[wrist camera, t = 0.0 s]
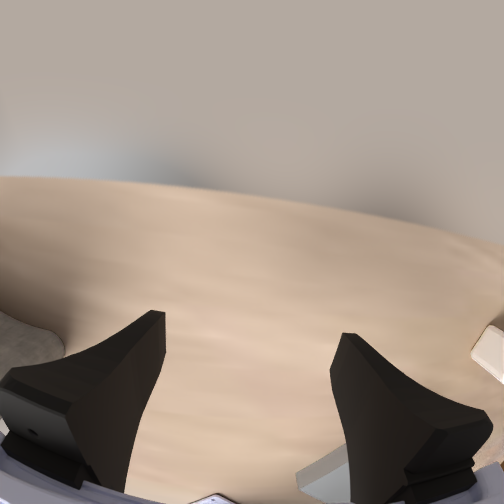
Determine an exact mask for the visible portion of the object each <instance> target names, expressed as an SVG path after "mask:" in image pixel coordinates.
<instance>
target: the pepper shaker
mask: <svg viewBox="0 0 504 504" xmlns="http://www.w3.org/2000/svg"><path fill="white" fill-rule="evenodd" d="M470 354H471V357H472V359H473V360H475V361H476V362H477V363H478V364H479V365H481V366H482V367H483V368H484V369H485V370H487V371H488V372H489V373H490V374H492V375H493V376H494V377H495V378H496V379H498V380H499V381H500V382H501V383H502V384H504V332H503V331H502V330H500V329H498V328H497V327H495V326H492V325H489V326H488V327H487V328H486V329H485V331H484V332H483V334H482V335H481V337H480V339H479V340H478V342H477V343H476V345H475V346H474V348H473V349H472V350H471V353H470Z"/></svg>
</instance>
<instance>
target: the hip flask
mask: <svg viewBox="0 0 504 504" xmlns="http://www.w3.org/2000/svg"><path fill="white" fill-rule="evenodd" d="M64 354H65V349H64V345H63V343H62V341H61V339H60V338H59V337H58V336H57V335H56V334H55V333H54V332H52V331H49V330H45V329H41V328H37V327H34V326H31V325H28V324H25V323H23V322H21V321H18V320H16V319H14V318H12V317H10V316H8V315H6V314H5V313H3V312H1V311H0V380H1V379H2V378H3V377H4V376H5V375H6V373H7V372H8V371H9V370H10V369H11V368H12V367H21V366H29V365H36V364H41V363H46V362H51V361H54V360H58V359H62V358H63V357H64ZM1 418H2V417H1V415H0V419H1Z"/></svg>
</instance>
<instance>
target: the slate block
mask: <svg viewBox="0 0 504 504" xmlns="http://www.w3.org/2000/svg"><path fill="white" fill-rule="evenodd" d="M296 478H297V484H298V490H300V491H302V492H304V493H306V494H308V495H310V496H312V497H314V498H316V499H318V500H320V501H322V502H324V503H350V474H349V462H348V453H347V446H346V443H345V444H344V445H342V446H341V447H339V448H337V449H336V450H334V451H333V452H331V453H329V454H328V455H326V456H325V457H323V458H321V459H320V460H318V461H316V462H314V463H313V464H311V465H309V466H308V467H306V468H304V469H302V470H300V471H298V472H297V473H296Z"/></svg>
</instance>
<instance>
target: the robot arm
mask: <svg viewBox="0 0 504 504" xmlns="http://www.w3.org/2000/svg"><path fill="white" fill-rule="evenodd" d="M165 354H166V329H165V312H161V311H155V310H150V311H148V312H147V313H146V314H144V315H143V316H141V317H140V318H138V319H137V320H136V321H134V322H133V323H131V324H130V325H128V326H127V327H125V328H124V329H122V330H121V331H119V332H118V333H116V334H114V335H113V336H111V337H109V338H108V339H106V340H104V341H102V342H101V343H99V344H97V345H95V346H93V347H90V348H88V349H86V350H84V351H81V352H79V353H76V354H73V355H70V356H67V357H65V358H62V359H58V360H54V361H51V362H46V363H41V364H36V365H29V366H21V367H12V368H11V369H10V370H9V371H8V372H7V373H6V375H5V376H4V377H3V378H2V379H1V380H0V415H1V417H2V418H3V420H4V422H5V424H6V425H7V427H8V429H9V430H10V431H9V433H8V434H7V435H6V436H5V435H4V434H3V433H2V432H1V431H0V504H164V503H159V502H155V501H150V500H146V499H142V498H138V497H135V496H131V495H127V494H124V489H125V483H126V477H127V472H128V467H129V463H130V458H131V453H132V449H133V445H134V441H135V437H136V434H137V430H138V426H139V423H140V420H141V417H142V414H143V411H144V409H145V407H146V404H147V402H148V400H149V397H150V395H151V393H152V390H153V388H154V386H155V384H156V381H157V379H158V377H159V374H160V372H161V368H162V365H163V361H164V358H165ZM330 377H331V385H332V391H333V395H334V398H335V402H336V405H337V409H338V412H339V416H340V419H341V423H342V427H343V430H344V434H345V439H346V446H347V453H348V462H349V474H350V503H327V504H504V472H503V470H502V468H501V466H500V464H499V462H494V463H492V464H490V465H487V466H485V467H483V468H481V469H479V470H477V471H476V472H474V473H473V471H472V469H471V467H473V466H474V464H475V462H474V460H473V458H472V457H473V456H474V455H475V454H476V452H477V451H478V450H479V449H480V448H481V447H482V446H483V444H484V443H485V442H486V441H487V439H488V438H489V437H490V435H491V433H492V430H493V424H492V422H491V420H490V419H489V417H488V416H487V414H486V412H485V411H484V410H480V409H476V408H473V407H469V406H466V405H463V404H460V403H457V402H455V401H452V400H449V399H447V398H445V397H443V396H440V395H438V394H437V393H435V392H433V391H431V390H429V389H427V388H425V387H423V386H422V385H420V384H419V383H417V382H415V381H414V380H412V379H411V378H409V377H408V376H407V375H405V374H404V373H402V372H401V371H400V370H399V369H397V368H396V367H395V366H393V365H392V364H391V363H390V362H389V361H387V360H386V359H385V358H384V357H383V356H382V355H381V354H379V353H378V352H377V351H376V350H375V349H374V348H373V347H372V346H370V345H369V344H368V343H367V342H366V341H365V340H364V339H362V338H361V337H360V336H359V335H357V334H355V333H342V336H341V339H340V342H339V345H338V348H337V351H336V354H335V357H334V359H333V362H332V365H331V368H330ZM192 504H235V503H233V502H231V501H229V500H227V499H225V498H223V497H221V496H219V495H212V496H210V497H207V498H205V499H202V500H200V501H197V502H195V503H192Z"/></svg>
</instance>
